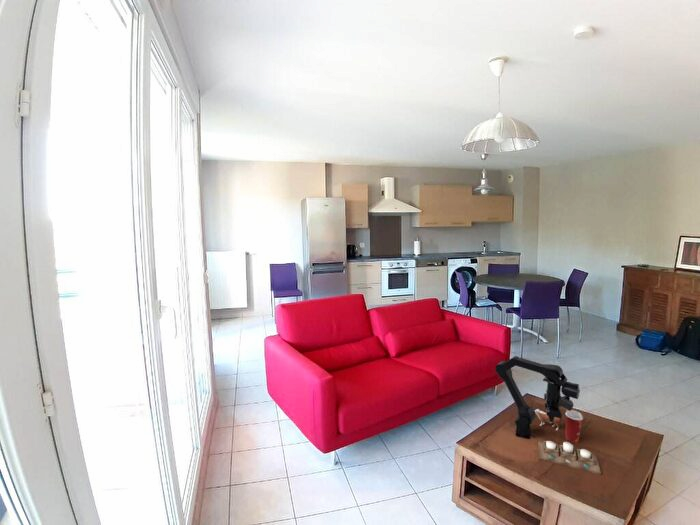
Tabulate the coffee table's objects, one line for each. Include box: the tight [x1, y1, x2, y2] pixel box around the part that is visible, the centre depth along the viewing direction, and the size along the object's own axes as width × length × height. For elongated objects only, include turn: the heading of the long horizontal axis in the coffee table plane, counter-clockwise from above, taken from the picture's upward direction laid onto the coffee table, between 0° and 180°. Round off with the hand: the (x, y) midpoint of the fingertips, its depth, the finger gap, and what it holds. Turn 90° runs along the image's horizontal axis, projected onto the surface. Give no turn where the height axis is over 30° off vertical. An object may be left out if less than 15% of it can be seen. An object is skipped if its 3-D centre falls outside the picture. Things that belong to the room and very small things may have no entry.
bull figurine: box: [534, 408, 563, 431], centre depth 188 cm, size 4×13×8 cm, turn 54°
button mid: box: [562, 441, 574, 454], centre depth 164 cm, size 4×4×4 cm
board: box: [537, 440, 602, 476], centre depth 163 cm, size 24×12×4 cm, turn 64°
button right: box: [580, 448, 591, 458], centre depth 161 cm, size 4×4×4 cm
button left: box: [546, 440, 557, 450], centre depth 167 cm, size 4×4×4 cm
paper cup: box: [564, 409, 584, 443], centre depth 177 cm, size 8×8×14 cm
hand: (551, 421), depth 171 cm, fingers closed
